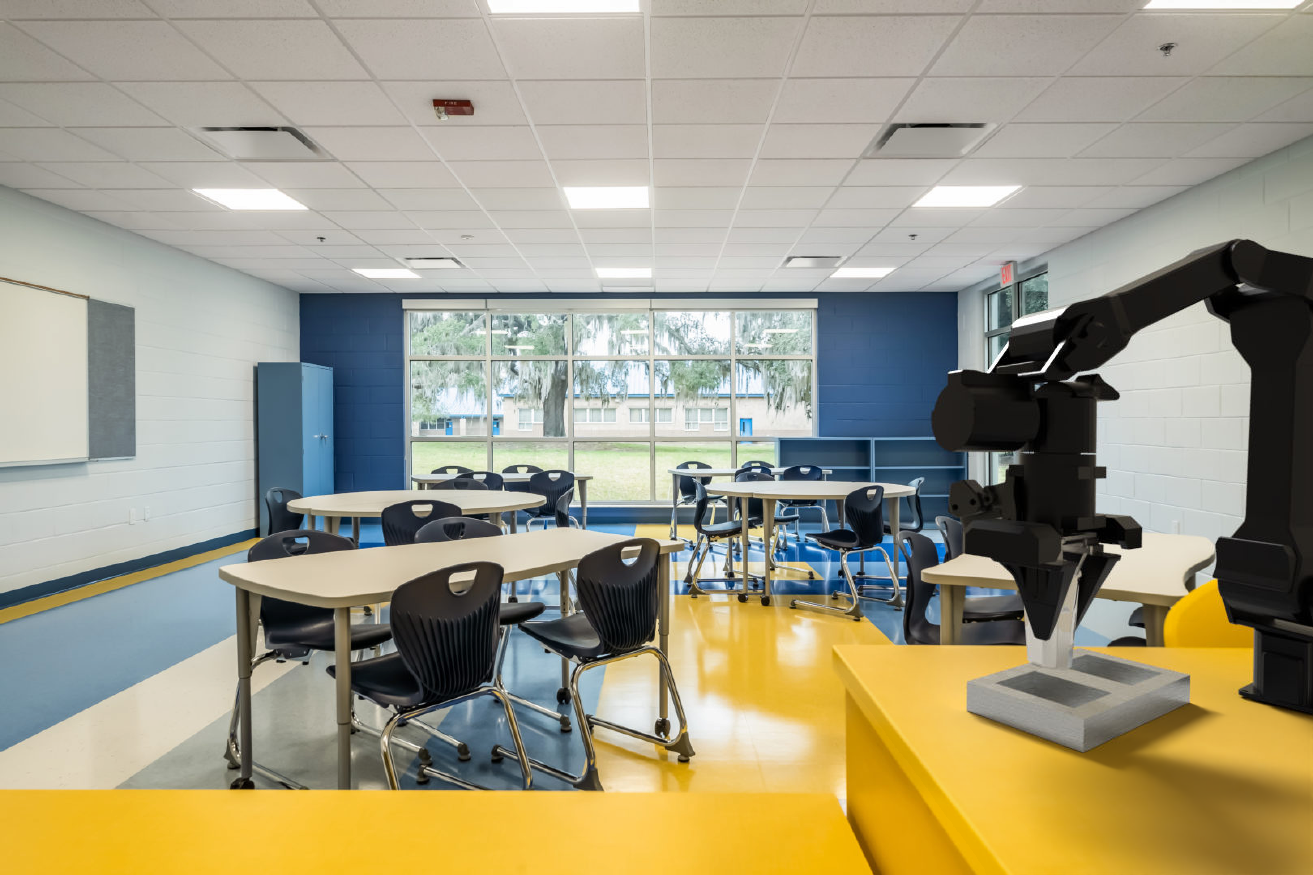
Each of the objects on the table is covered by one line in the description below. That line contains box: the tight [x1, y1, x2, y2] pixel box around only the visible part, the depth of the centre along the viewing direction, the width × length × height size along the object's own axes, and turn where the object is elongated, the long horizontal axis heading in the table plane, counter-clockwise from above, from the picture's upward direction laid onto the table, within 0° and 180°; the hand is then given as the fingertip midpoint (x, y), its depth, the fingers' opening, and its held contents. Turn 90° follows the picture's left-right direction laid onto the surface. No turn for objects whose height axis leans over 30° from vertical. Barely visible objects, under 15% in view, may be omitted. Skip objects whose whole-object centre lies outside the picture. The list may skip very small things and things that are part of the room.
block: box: [965, 647, 1191, 753], centre depth 61 cm, size 20×10×2 cm, turn 124°
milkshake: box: [1023, 553, 1087, 670], centre depth 59 cm, size 4×5×10 cm
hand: (1054, 635), depth 59 cm, fingers closed on milkshake, 4 cm apart
